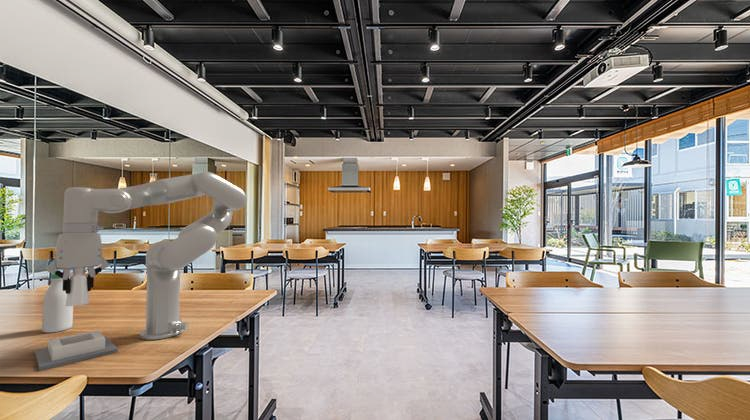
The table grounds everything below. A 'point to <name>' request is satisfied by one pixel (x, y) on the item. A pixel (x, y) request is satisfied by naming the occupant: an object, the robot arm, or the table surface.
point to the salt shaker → (78, 288)
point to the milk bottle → (56, 307)
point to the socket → (74, 349)
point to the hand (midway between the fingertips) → (78, 291)
